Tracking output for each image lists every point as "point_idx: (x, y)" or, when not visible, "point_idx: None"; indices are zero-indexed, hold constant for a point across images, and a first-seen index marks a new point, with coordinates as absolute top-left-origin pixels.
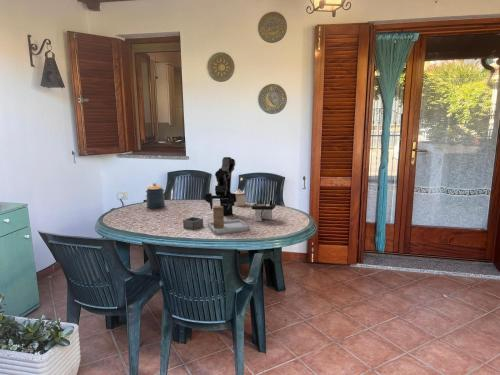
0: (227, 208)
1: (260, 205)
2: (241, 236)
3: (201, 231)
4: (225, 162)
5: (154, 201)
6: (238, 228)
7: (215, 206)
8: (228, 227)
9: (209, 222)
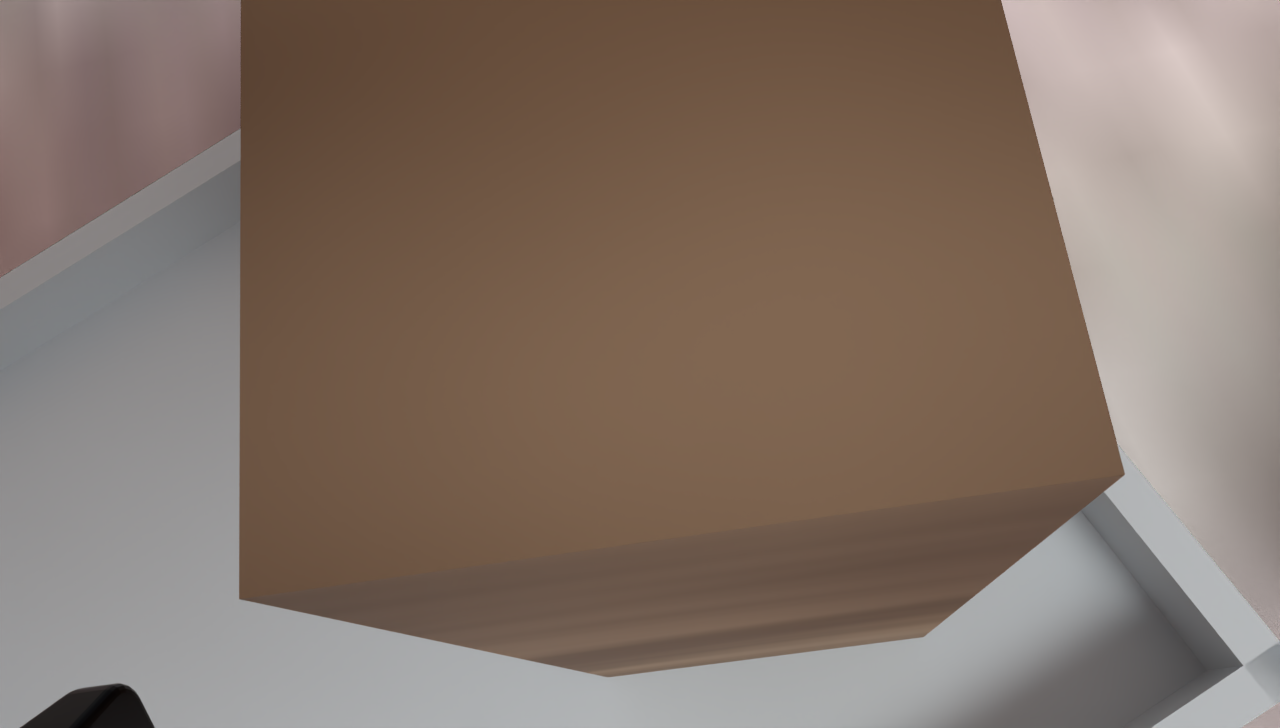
0: (34, 719)
1: None
2: (12, 7)
3: (1190, 131)
4: None
5: None
6: (34, 274)
7: (932, 240)
8: None
9: (1243, 716)
